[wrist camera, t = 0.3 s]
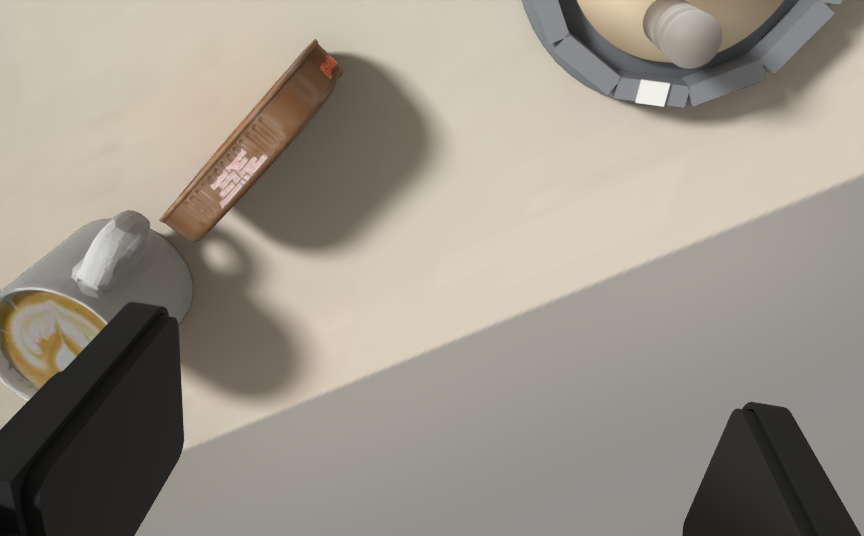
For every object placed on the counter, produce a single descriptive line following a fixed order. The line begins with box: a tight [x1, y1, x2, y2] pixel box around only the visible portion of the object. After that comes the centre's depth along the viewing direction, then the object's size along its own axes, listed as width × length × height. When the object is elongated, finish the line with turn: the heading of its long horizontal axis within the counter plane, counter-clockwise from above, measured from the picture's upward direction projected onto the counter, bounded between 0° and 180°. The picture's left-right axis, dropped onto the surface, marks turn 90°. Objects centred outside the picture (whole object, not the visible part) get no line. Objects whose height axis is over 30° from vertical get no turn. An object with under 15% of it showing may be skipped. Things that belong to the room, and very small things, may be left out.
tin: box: [159, 39, 343, 242], centre depth 42 cm, size 15×3×8 cm, turn 135°
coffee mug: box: [0, 210, 193, 401], centre depth 47 cm, size 13×10×10 cm
